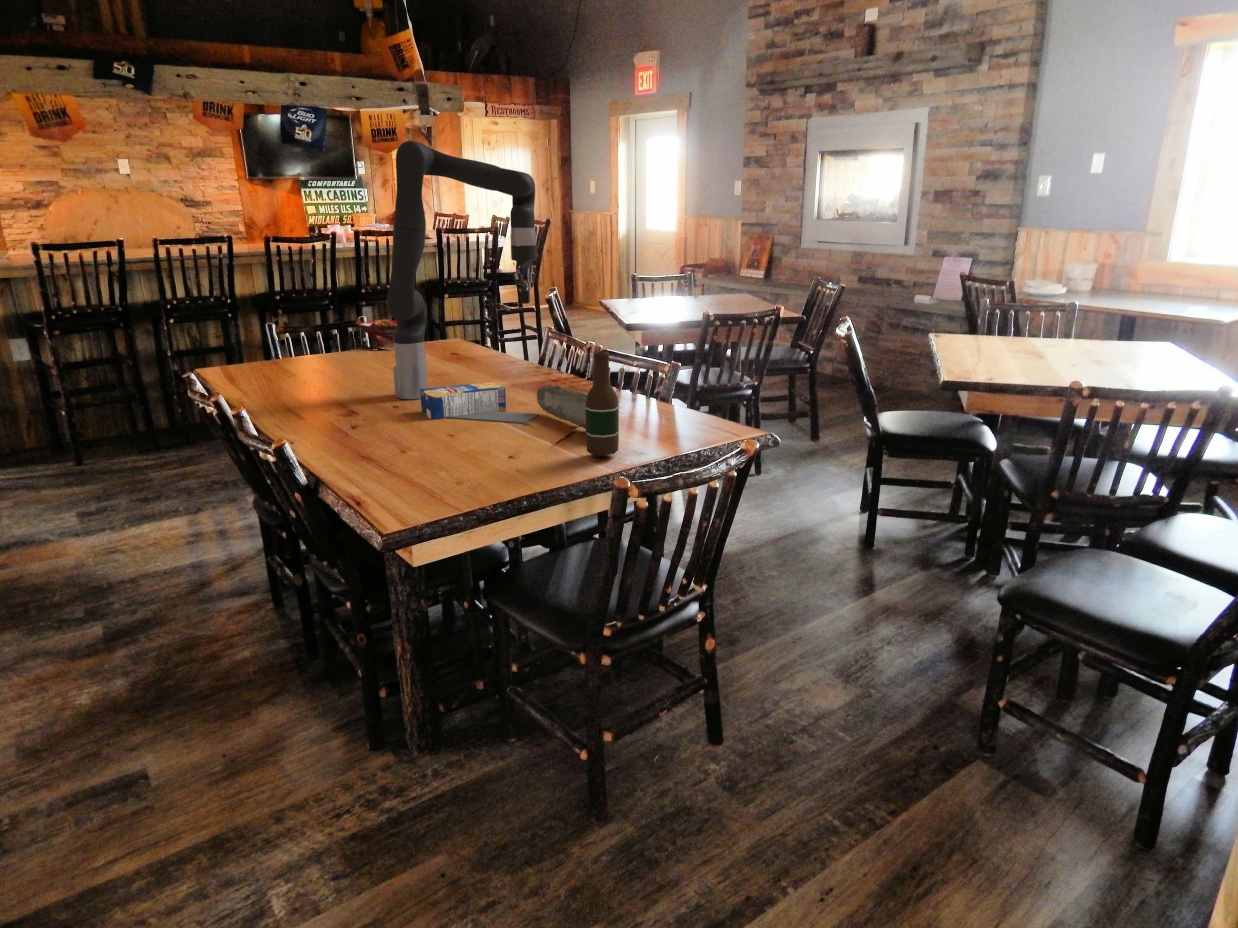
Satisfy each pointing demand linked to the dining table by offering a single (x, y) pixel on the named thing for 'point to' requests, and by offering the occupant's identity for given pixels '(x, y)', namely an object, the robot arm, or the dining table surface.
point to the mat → (498, 417)
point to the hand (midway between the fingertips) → (525, 303)
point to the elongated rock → (563, 403)
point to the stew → (379, 333)
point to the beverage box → (462, 400)
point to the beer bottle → (602, 410)
